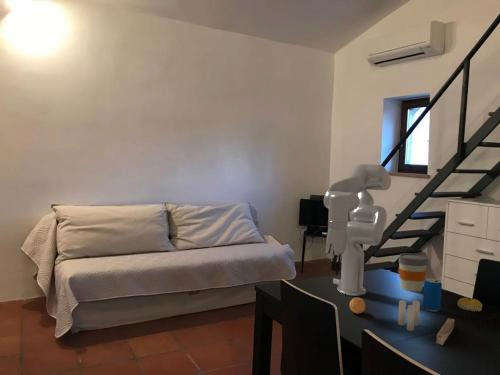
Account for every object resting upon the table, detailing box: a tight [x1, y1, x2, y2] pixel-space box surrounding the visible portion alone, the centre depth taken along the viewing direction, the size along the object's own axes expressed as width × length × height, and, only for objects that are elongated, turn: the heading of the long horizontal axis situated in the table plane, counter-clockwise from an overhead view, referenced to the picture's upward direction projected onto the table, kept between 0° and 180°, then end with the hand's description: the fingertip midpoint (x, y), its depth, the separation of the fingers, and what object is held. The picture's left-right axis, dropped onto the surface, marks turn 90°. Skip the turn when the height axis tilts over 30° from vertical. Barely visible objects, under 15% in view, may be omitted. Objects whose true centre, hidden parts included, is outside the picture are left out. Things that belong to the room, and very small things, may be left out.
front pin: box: [397, 299, 407, 326], centre depth 158 cm, size 2×2×8 cm
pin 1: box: [406, 304, 415, 332], centre depth 153 cm, size 2×2×8 cm
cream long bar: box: [435, 317, 455, 346], centre depth 149 cm, size 2×18×3 cm, turn 144°
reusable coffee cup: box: [398, 252, 428, 293], centre depth 199 cm, size 13×13×15 cm
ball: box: [349, 297, 366, 314], centre depth 168 cm, size 6×6×6 cm
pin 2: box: [412, 300, 421, 327], centre depth 158 cm, size 2×2×8 cm
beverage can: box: [422, 277, 443, 313], centre depth 173 cm, size 6×6×12 cm
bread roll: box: [456, 297, 483, 312], centre depth 176 cm, size 8×9×4 cm
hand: (336, 270), depth 172 cm, fingers closed
